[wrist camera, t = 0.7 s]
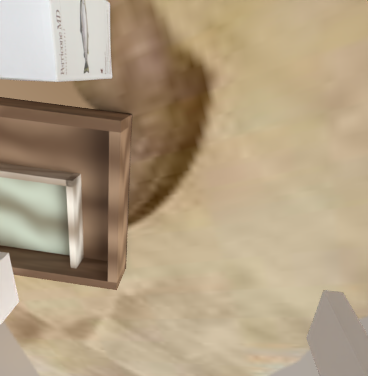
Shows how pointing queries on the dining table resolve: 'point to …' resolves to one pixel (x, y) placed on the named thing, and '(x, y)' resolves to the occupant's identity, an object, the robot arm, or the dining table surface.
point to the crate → (64, 191)
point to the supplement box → (55, 40)
